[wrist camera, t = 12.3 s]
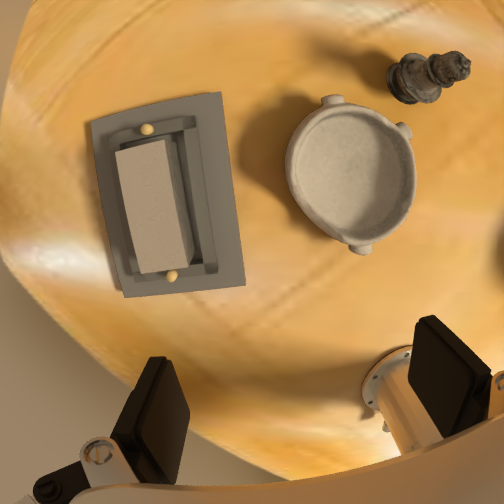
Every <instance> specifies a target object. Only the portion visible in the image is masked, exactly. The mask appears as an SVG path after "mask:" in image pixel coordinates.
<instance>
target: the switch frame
mask: <svg viewBox="0 0 504 504" xmlns="http://www.w3.org/2000/svg"><path fill="white" fill-rule="evenodd" d="M91 131H92V141H93V150H94V158H95V165H96V172H97V179H98V185H99V191H100V197H101V202H102V208H103V213H104V218H105V223H106V228H107V232H108V237H109V241H110V245H111V250H112V254H113V258H114V262H115V266H116V270H117V273H118V277H119V281H120V284H121V288H122V291H123V295H124V298H131V297H142V296H153V295H163V294H173V293H183V292H193V291H202V290H211V289H220V288H229V287H237V286H245V285H246V278H245V271H244V263H243V256H242V249H241V241H240V234H239V226H238V219H237V211H236V204H235V196H234V188H233V181H232V173H231V165H230V157H229V149H228V142H227V134H226V126H225V117H224V109H223V101H222V94H221V91H220V92H214V93H207V94H201V95H195V96H189V97H184V98H179V99H174V100H169V101H164V102H160V103H155V104H151V105H147V106H143V107H139V108H135V109H131V110H127V111H124V112H120V113H116V114H113V115H110V116H106V117H103V118H100V119H97V120H93V121H91ZM160 140H168V141H172V142H176V143H177V145H178V152H179V158H180V164H181V170H182V176H183V182H184V188H185V194H186V199H187V205H188V210H189V215H190V221H191V226H192V231H193V236H194V241H195V246H196V252H195V254H194V256H193V258H192V260H191V262H190V265H189V267H186V268H179V269H172V270H165V271H158V272H151V273H144V274H141V272H140V268H139V265H138V261H137V257H136V253H135V249H134V245H133V241H132V237H131V232H130V228H129V224H128V219H127V214H126V210H125V205H124V200H123V195H122V190H121V184H120V179H119V173H118V167H117V161H116V155H115V152H117V151H121V150H125V149H128V148H132V147H136V146H140V145H144V144H148V143H152V142H156V141H160Z"/></svg>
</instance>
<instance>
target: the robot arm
mask: <svg viewBox="0 0 504 504" xmlns="http://www.w3.org/2000/svg"><path fill="white" fill-rule="evenodd" d="M490 373H491V369H490V368H489V367H488V366H487V365H486V364H485V363H484V362H483V361H482V360H481V359H480V358H479V357H478V356H477V355H476V354H475V353H474V352H473V351H472V350H471V349H470V348H469V347H468V346H467V345H466V344H465V343H464V342H463V341H462V340H461V339H459V338H458V337H457V336H456V335H455V334H454V333H453V332H452V331H451V330H450V329H449V328H448V327H447V326H446V325H445V324H443V323H442V322H441V321H440V320H439V319H438V318H437V317H436V316H435V315H429V316H426V317H422V318H420V319H419V322H417V323H416V325H415V332H414V339H413V346H409V347H404V348H401V349H399V350H396V351H394V352H393V353H391V354H389V355H387V356H386V357H385V358H383V359H382V360H381V361H380V362H378V363H377V364H376V365H375V366H374V367H373V369H372V370H371V371H370V372H369V374H368V375H367V377H366V378H365V380H364V383H363V386H362V397H363V400H364V402H365V404H366V405H367V406H368V407H370V408H372V409H375V410H380V411H381V413H382V415H383V417H384V419H385V421H384V424H383V427H382V429H383V431H384V432H391V434H392V436H393V438H394V440H395V442H396V444H397V447H398V449H399V451H400V453H401V456H398V457H395V458H392V459H389V460H385V461H382V462H379V463H375V464H372V465H368V466H364V467H360V468H356V469H352V470H348V471H344V472H339V473H334V474H329V475H324V476H319V477H313V478H307V479H300V480H293V481H285V482H277V483H266V484H254V485H236V486H188V485H174V484H175V483H176V479H177V474H178V470H179V465H180V461H181V456H182V451H183V446H184V442H185V437H186V433H187V428H188V424H189V419H190V411H189V408H188V405H187V402H186V400H185V397H184V394H183V392H182V389H181V386H180V384H179V381H178V378H177V375H176V372H175V370H174V367H173V364H172V361H171V360H167V358H166V357H165V356H159V357H150V358H149V360H148V362H147V364H146V366H145V368H144V370H143V372H142V374H141V376H140V378H139V380H138V382H137V384H136V386H135V388H134V390H133V391H132V392H131V393H130V395H129V397H128V399H127V401H126V404H125V406H124V408H123V410H122V412H121V414H120V416H119V419H118V421H117V423H116V425H115V427H114V429H113V432H112V433H111V436H110V438H108V437H96V438H93V439H91V440H89V441H87V442H86V443H85V444H84V445H83V447H82V448H81V450H80V454H79V455H80V461H78V462H76V463H73V464H71V465H69V466H66V467H64V468H62V469H59V470H57V471H55V472H52V473H50V474H47V475H45V476H43V477H41V478H39V479H38V480H37V481H36V483H35V485H34V487H33V495H32V496H30V495H28V494H27V495H26V496H25V497H24V498H22V499H21V500H19V501H18V502H17V503H15V504H504V371H500V372H498V373H496V374H495V375H494V376H492V375H491V374H490Z"/></svg>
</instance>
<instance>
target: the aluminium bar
mask: <svg viewBox="0 0 504 504" xmlns="http://www.w3.org/2000/svg"><path fill="white" fill-rule="evenodd" d="M115 155H116V161H117V167H118V173H119V179H120V184H121V190H122V195H123V200H124V205H125V210H126V214H127V219H128V224H129V228H130V232H131V237H132V241H133V245H134V249H135V253H136V257H137V261H138V265H139V268H140V272H141V274H144V273H151V272H158V271H165V270H172V269H179V268H186V267H189V265H190V262H191V260H192V258H193V256H194V254H195V252H196V246H195V241H194V236H193V231H192V226H191V221H190V215H189V210H188V205H187V199H186V194H185V188H184V182H183V176H182V170H181V164H180V158H179V152H178V145H177V143H176V142H172V141H168V140H160V141H156V142H152V143H148V144H144V145H140V146H136V147H132V148H128V149H125V150H121V151H117V152H115Z"/></svg>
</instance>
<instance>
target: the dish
mask: <svg viewBox="0 0 504 504" xmlns="http://www.w3.org/2000/svg"><path fill="white" fill-rule="evenodd" d="M321 102H322V107H320V108H318V109H317V110H315V111H313V112H311V113H310V114H309V115H308V116H306V117H305V118H304V119H303V120H302V121H301V123H300V124H299V125H298V126H297V128H296V129H295V131H294V133H293V134H292V136H291V138H290V141H289V143H288V146H287V150H286V155H285V174H286V180H287V184H288V187H289V190H290V192H291V194H292V196H293V198H294V200H295V201H296V203H297V204H298V205H299V207H300V208H301V210H302V211H303V212H304V213H305V215H306V216H307V217H308V218H309V219H310V220H311V221H312V222H313V223H314V224H315V225H316V226H318V227H319V228H320V229H321V230H323V231H324V232H325V233H327V234H328V235H329V236H331V237H333V238H334V239H336V240H338V241H340V242H342V243H345V244H348V245H349V250H350V251H352V252H354V253H356V254H359V255H364V256H365V255H368V254H370V253H372V251H373V250H372V244H373V243H376V242H378V241H380V240H382V239H384V238H386V237H387V236H389V235H390V234H392V233H393V232H394V231H395V230H396V229H397V228H398V227H399V226H400V225H401V224H402V223H403V222H404V221H405V219H406V218H407V216H408V213H409V210H410V208H411V206H412V204H413V201H414V198H415V194H416V183H417V181H416V165H415V158H414V153H413V149H412V146H411V144H410V141H409V140H411V139H412V136H413V135H412V131H411V129H410V128H409V127H408V126H407V125H406V124H405V123H403V122H399V123H397V124H394V123H392V122H391V121H389V120H388V119H387V118H386V117H384V116H383V115H381V114H380V113H378V112H376V111H374V110H372V109H370V108H367V107H364V106H360V105H356V104H351V103H346V102H345V101H344V97H343V96H342V95H328V96H325V97H322V98H321Z"/></svg>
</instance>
